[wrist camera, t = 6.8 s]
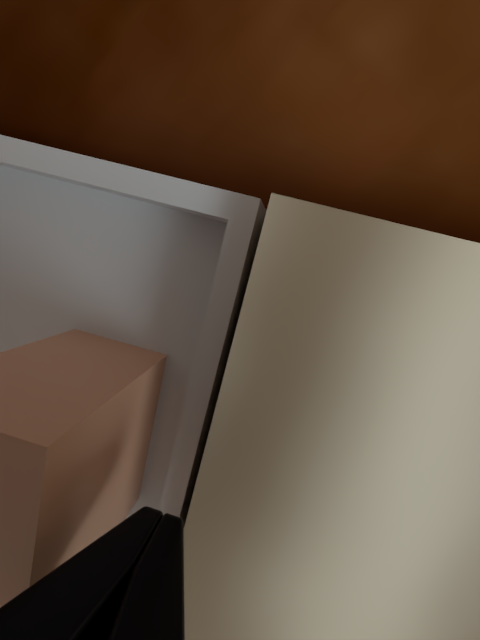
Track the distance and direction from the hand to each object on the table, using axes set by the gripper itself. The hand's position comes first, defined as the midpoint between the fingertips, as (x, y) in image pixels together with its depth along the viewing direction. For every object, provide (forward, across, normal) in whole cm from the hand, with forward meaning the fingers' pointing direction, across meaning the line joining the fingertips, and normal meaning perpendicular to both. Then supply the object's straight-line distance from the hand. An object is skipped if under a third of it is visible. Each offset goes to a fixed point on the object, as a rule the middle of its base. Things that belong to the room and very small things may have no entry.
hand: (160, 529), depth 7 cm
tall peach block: (+1, +2, 0) cm, 2 cm away
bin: (+4, +5, 0) cm, 6 cm away
